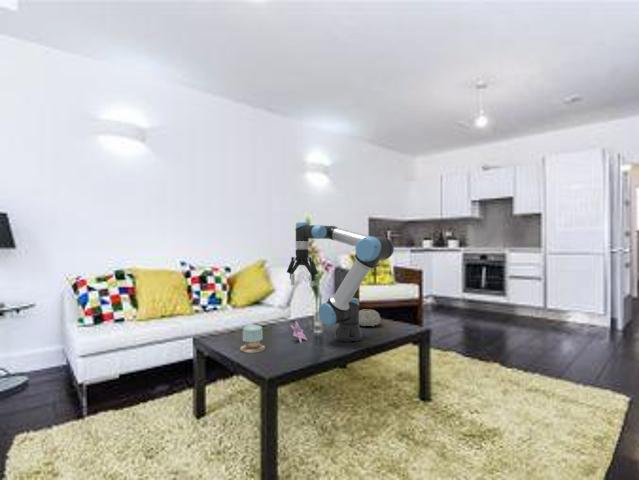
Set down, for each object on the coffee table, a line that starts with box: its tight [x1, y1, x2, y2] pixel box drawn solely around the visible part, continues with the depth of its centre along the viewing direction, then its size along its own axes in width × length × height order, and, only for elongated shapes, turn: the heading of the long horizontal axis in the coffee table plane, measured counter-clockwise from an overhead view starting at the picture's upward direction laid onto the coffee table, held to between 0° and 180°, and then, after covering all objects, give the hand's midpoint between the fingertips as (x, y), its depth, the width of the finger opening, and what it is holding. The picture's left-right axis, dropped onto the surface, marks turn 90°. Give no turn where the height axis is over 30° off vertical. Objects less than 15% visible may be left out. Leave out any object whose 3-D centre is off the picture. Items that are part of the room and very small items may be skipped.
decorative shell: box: [359, 308, 382, 327], centre depth 239 cm, size 18×18×10 cm
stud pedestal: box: [240, 341, 266, 354], centre depth 186 cm, size 12×12×9 cm
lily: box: [290, 320, 308, 344], centre depth 202 cm, size 12×12×10 cm
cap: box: [242, 324, 263, 343], centre depth 186 cm, size 9×9×6 cm
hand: (302, 286), depth 212 cm, fingers open, 13 cm apart
